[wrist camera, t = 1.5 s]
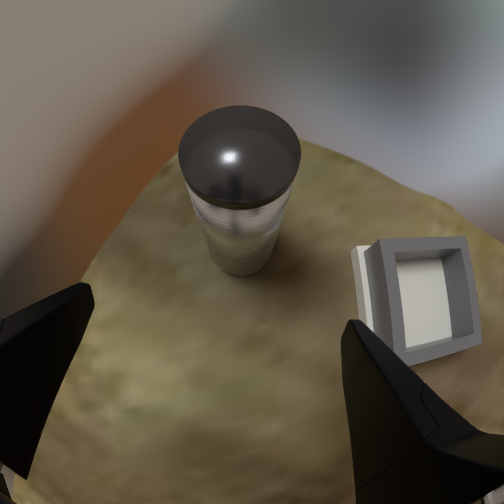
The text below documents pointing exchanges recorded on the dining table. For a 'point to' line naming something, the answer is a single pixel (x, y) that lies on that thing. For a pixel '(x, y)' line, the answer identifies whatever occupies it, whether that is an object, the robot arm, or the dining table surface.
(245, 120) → the black-capped silver cylinder
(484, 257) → the dining table surface
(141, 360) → the dining table surface
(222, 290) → the dining table surface
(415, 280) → the holder
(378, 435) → the robot arm
